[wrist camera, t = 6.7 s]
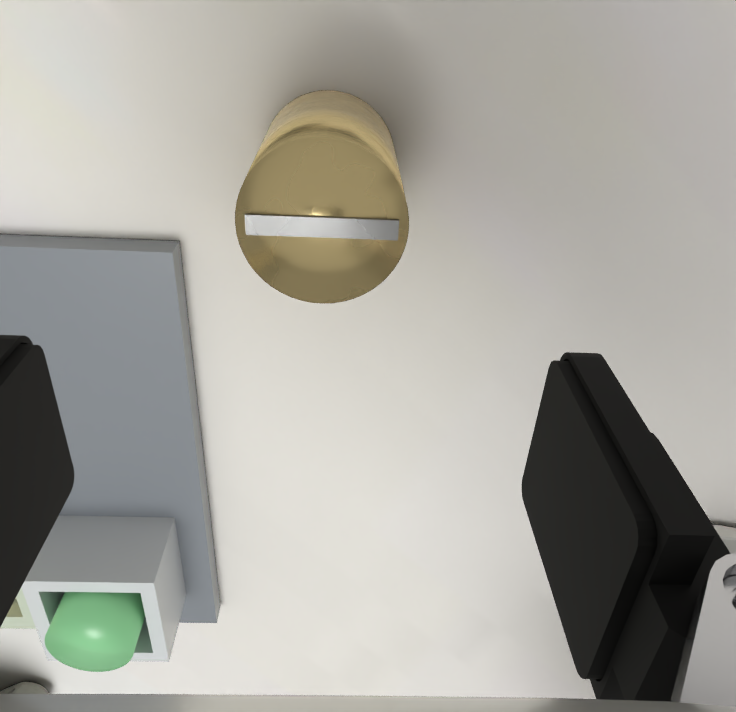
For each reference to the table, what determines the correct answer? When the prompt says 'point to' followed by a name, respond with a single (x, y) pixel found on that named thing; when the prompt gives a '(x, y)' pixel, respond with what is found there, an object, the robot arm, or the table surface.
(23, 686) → the digital clock
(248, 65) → the table surface
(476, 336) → the table surface
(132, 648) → the button
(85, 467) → the station
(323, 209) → the cylinder
